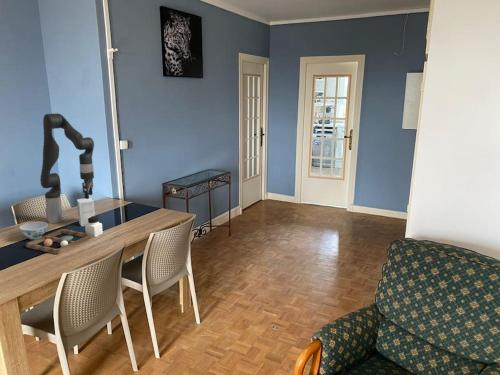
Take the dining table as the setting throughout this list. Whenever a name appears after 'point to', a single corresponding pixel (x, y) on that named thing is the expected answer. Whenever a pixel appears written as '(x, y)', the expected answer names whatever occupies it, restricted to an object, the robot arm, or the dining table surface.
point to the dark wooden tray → (59, 241)
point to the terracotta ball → (48, 242)
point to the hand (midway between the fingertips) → (88, 196)
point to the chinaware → (34, 229)
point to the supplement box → (85, 210)
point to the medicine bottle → (94, 226)
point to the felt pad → (67, 237)
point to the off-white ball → (63, 243)
